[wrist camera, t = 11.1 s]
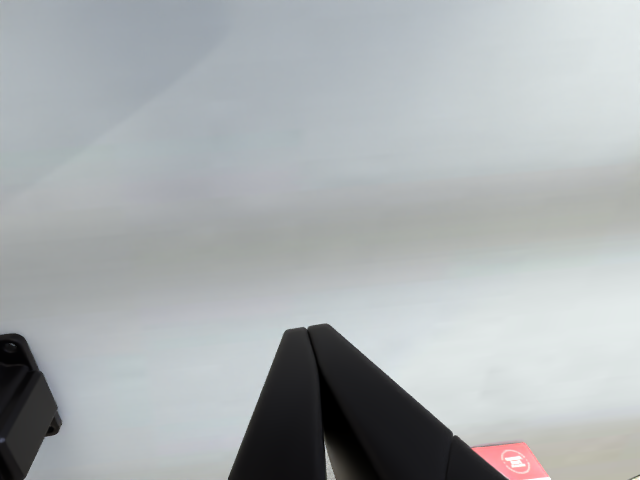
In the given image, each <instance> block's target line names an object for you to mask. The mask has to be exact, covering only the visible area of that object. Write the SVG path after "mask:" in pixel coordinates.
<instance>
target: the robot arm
mask: <svg viewBox="0 0 640 480" xmlns="http://www.w3.org/2000/svg"><path fill="white" fill-rule="evenodd" d="M9 343H12V344H14V345H15V346H12V345H10V344H9ZM57 408H58V407H57V405H56V402H55V400H54V398H53V396H52V393H51V391H50V389H49V387H48V384H47V382H46V380H45V377H44V375H43V373H42V372H40V371H39V369H38V367H37V364H36V362H35V360H34V358H33V355H32V353H31V351H30V349H29V346H28V344H27V342H26V340H25V339H24V337H22V336H21V335H18V334H4V335H0V480H24V479H25V477H26V476H27V473H28V471H29V469H30V467H31V465H32V463H33V461H34V458H35V456H36V454H37V452H38V450H39V448H40V445H41V443H42V441H43V439H44V437H47V436H52V435H55V434H57V433H58V432H59V430H60V427H61V425H62V421H61V419H60V416H59V414H58V412H57ZM324 441H325V445H326V449H327V452H328V456H329V459H330V462H331V465H332V469H333V472H334V475H335V478H336V480H509V479H508V478H507V477H505V476H504V475H503V474H502V473H500V472H499V471H498V470H497V469H495V468H494V467H493V466H492V465H491V464H489V463H488V462H487V461H486V460H485V459H483V458H482V457H481V456H480V455H479V454H477V453H476V452H475V451H474V450H473V449H472V448H470V447H469V446H468V445H467V444H466V443H465V442H464V441H462V440H461V439H460V438H459V437H458V436H456V435H455V436H453V433H452V431H451V430H450V429H448V428H447V427H446V426H445V425H444V424H443V423H442V422H440V421H439V420H438V419H437V418H436V417H435V416H433V415H432V414H431V413H430V412H429V411H428V410H427V409H425V408H424V407H423V406H422V405H421V404H420V403H419V402H417V401H416V400H415V399H414V398H413V397H412V396H411V395H409V394H408V393H407V392H406V391H405V390H404V389H403V388H401V387H400V386H399V385H398V384H397V383H396V382H395V381H393V380H392V379H391V378H390V377H389V376H388V375H386V374H385V373H384V372H383V371H382V370H381V369H380V368H378V367H377V366H376V365H375V364H374V363H373V362H372V361H370V360H369V359H368V358H367V357H366V356H365V355H364V354H362V353H361V352H360V351H359V350H358V349H357V348H356V347H354V346H353V345H352V344H351V343H350V342H349V341H348V340H346V339H345V338H344V337H343V336H342V335H341V334H339V333H338V332H337V331H336V330H335V329H334V328H333V327H331V326H330V325H329V324H319V325H313V326H309V327H308V329H306V328H304V327H301V328H294V329H288V330H286V331H285V332H284V334H283V337H282V339H281V342H280V345H279V347H278V350H277V352H276V355H275V358H274V360H273V363H272V365H271V368H270V371H269V373H268V376H267V378H266V381H265V384H264V386H263V389H262V391H261V394H260V397H259V399H258V402H257V404H256V407H255V410H254V412H253V415H252V417H251V420H250V423H249V425H248V428H247V430H246V433H245V436H244V438H243V441H242V443H241V446H240V449H239V451H238V454H237V456H236V459H235V462H234V464H233V467H232V469H231V472H230V475H229V477H228V480H327V474H326V458H325V445H324Z"/></svg>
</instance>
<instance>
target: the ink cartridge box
mask: <svg viewBox="0 0 640 480" xmlns="http://www.w3.org/2000/svg"><path fill="white" fill-rule="evenodd" d="M472 449H473V450H474V451H475V452H476V453H477V454H479V455H480V456H481V457H482V458H483V459H485V460H486V461H487V462H488V463H489V464H491V465H492V466H493V467H494V468H495V469H497V470H498V471H499V472H500V473H502V474H503V475H504V476H505V477H507V478H508V479H509V480H551V479H550V478H549V476H548V475H547V473H546V472H545V470H544V469H543V468H542V466H541V465H540V463H539V462H538V460H537V459H536V457H535V456H534V455H533V453H532V452H531V450H530V449H529V447H528V446H527V445H526V444H525V443H524V442H522V443H516V444H505V445H497V446H487V447H476V448H472Z"/></svg>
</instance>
